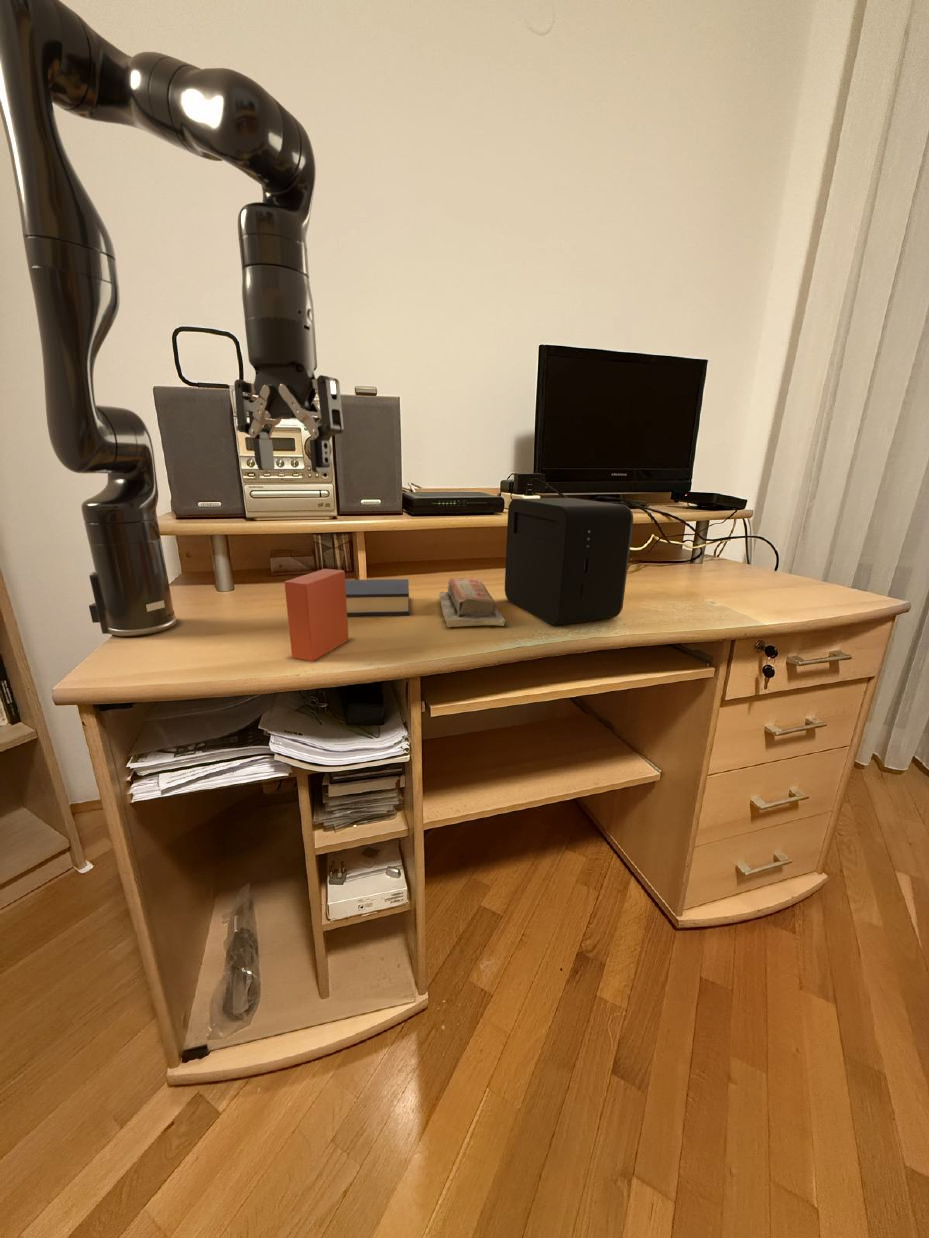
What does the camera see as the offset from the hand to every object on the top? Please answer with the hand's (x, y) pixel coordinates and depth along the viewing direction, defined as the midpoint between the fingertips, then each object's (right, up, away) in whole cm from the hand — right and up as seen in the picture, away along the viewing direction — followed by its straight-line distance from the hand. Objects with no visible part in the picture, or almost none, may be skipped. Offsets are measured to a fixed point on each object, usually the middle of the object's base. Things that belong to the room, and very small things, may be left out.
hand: (292, 471), depth 61 cm
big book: (+4, -16, +32) cm, 36 cm away
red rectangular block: (0, -23, +11) cm, 25 cm away
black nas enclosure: (+40, -17, +33) cm, 54 cm away
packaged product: (+22, -17, +30) cm, 41 cm away
